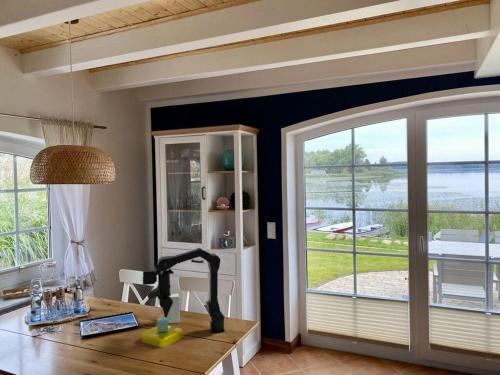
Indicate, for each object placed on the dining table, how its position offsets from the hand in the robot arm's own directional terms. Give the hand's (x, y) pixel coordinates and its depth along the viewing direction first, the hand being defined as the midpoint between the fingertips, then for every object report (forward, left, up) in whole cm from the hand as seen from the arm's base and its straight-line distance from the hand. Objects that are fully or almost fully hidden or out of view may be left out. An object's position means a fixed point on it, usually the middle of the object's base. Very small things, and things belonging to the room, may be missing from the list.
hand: (164, 314), depth 188 cm
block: (+1, 0, -8) cm, 8 cm away
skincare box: (-6, -20, -12) cm, 24 cm away
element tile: (+1, +1, -13) cm, 13 cm away
